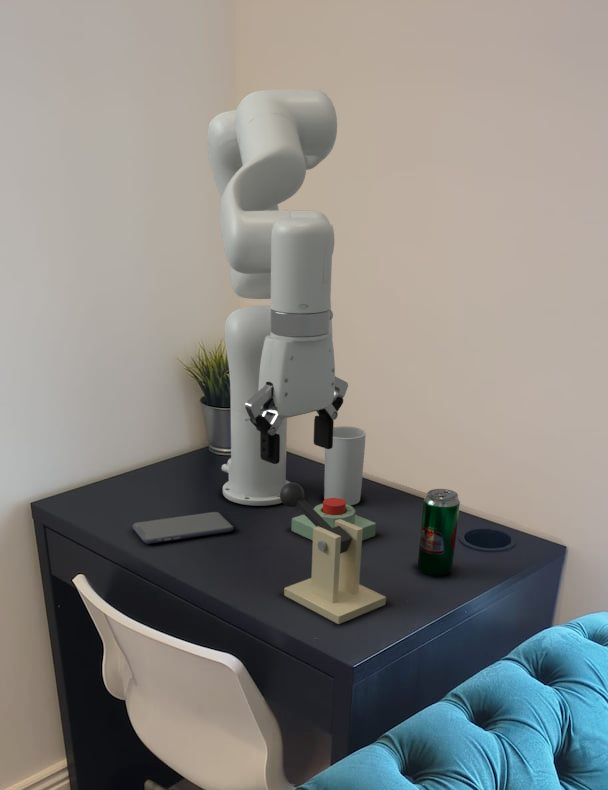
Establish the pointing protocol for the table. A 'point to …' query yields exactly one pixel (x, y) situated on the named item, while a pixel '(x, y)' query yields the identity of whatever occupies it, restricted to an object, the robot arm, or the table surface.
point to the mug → (345, 465)
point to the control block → (333, 522)
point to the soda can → (438, 532)
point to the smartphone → (182, 527)
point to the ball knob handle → (311, 512)
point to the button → (334, 506)
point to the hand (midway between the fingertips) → (296, 453)
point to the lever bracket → (336, 578)
